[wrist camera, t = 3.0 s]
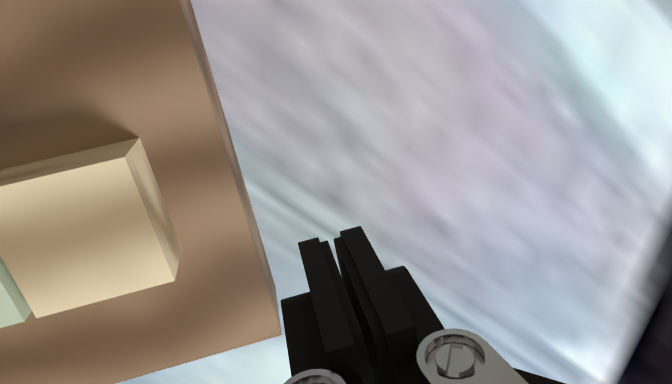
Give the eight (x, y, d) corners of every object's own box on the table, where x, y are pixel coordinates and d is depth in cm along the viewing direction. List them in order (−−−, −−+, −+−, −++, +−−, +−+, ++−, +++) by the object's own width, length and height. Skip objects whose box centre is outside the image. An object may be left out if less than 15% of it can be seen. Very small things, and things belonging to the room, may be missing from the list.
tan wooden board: (275, 286, 31) (281, 334, 26) (-1, 363, 29) (-45, 430, 24) (179, -36, 23) (164, -48, 18) (-213, 40, 21) (-340, 48, 16)
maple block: (182, 248, 23) (174, 281, 20) (61, 280, 22) (36, 318, 20) (139, 137, 21) (124, 156, 18) (2, 169, 20) (-36, 194, 17)
